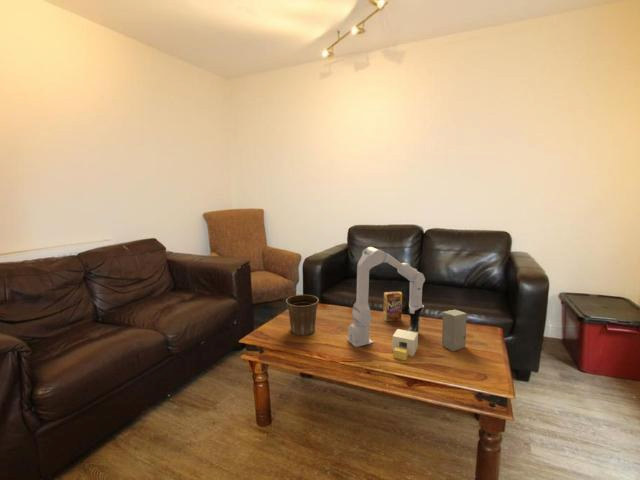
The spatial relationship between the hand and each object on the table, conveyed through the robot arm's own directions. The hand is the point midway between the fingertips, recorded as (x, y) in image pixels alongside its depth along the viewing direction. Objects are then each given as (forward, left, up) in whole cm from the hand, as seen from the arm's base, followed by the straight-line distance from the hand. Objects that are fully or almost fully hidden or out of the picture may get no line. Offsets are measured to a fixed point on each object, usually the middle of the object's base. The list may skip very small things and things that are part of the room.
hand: (414, 322), depth 155 cm
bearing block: (-15, -11, -5) cm, 19 cm away
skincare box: (+6, -18, -5) cm, 20 cm away
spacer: (-20, -14, -4) cm, 25 cm away
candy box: (0, +18, -5) cm, 19 cm away
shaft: (-7, -5, -4) cm, 10 cm away
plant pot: (-48, +27, -6) cm, 55 cm away
